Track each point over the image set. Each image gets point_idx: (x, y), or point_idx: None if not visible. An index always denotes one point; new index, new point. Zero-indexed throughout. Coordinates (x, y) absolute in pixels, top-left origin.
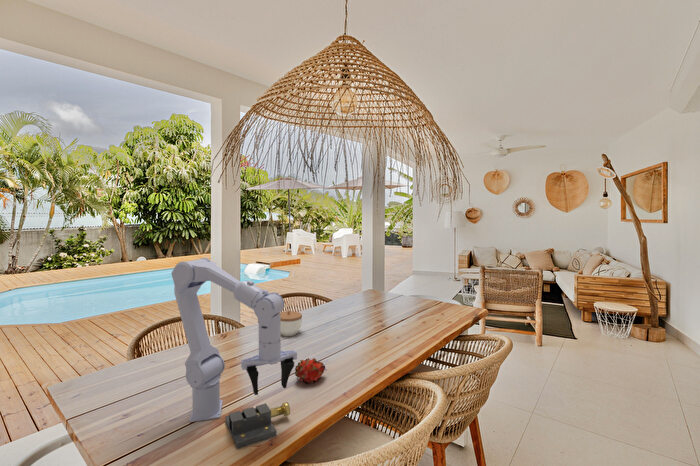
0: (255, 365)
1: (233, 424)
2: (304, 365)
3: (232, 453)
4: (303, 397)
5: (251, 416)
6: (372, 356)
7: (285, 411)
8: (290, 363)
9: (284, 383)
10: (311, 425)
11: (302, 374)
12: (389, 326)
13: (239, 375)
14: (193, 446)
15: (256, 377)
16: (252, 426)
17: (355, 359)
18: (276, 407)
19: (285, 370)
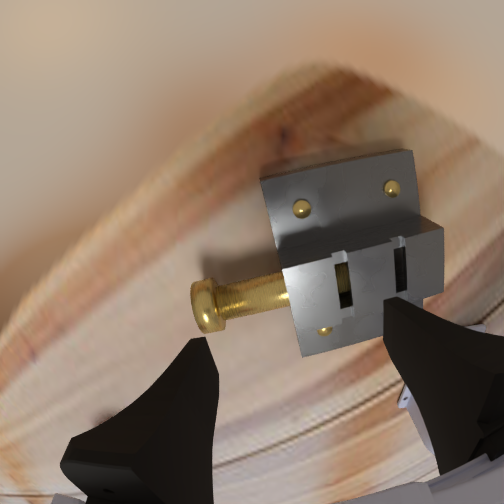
0: (494, 458)
1: (434, 224)
2: None
3: (414, 133)
4: (148, 382)
5: (374, 246)
6: (15, 450)
7: (211, 287)
8: (91, 473)
9: (195, 353)
10: (120, 214)
11: None
12: (20, 496)
13: (326, 484)
14: (494, 213)
15: (470, 352)
16: (354, 233)
17: (43, 459)
18: (250, 309)
19: (165, 428)
